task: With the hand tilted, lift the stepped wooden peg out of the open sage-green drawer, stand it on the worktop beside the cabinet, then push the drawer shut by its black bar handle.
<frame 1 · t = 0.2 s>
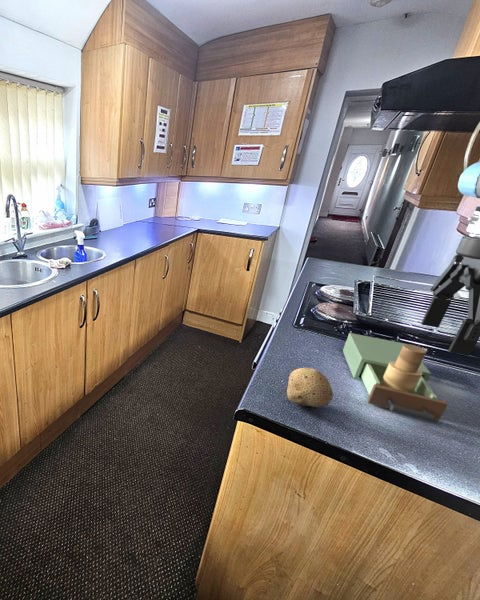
hand: (442, 338, 68), 21 cm above the worktop, tool pointing down, fingers open, 13 cm apart
stepped wooden peg: (394, 391, 82), point 2 cm above the worktop, touching drawer
drawer: (398, 390, 80), point 3 cm above the worktop, slide at 11.0 cm, touching stepped wooden peg
natural sponge: (303, 405, 80), on the worktop
cabinet: (376, 371, 94), on the worktop
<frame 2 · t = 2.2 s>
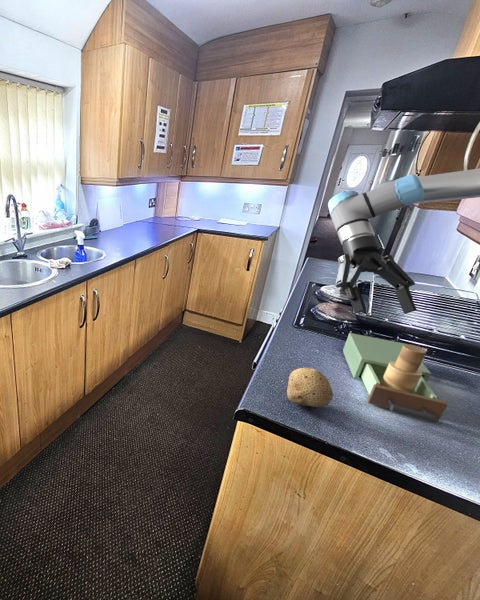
hand: (385, 311, 84), 20 cm above the worktop, tool tilted 45°, fingers open, 13 cm apart
nothing on the worktop moved.
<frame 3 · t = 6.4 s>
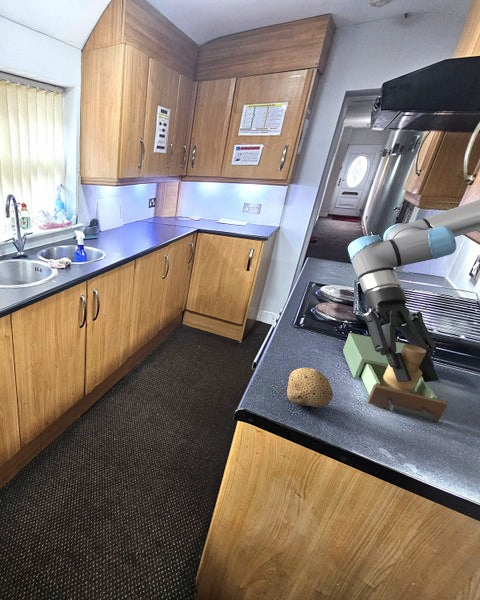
hand: (418, 381, 76), 8 cm above the worktop, tool tilted 45°, fingers closed on stepped wooden peg, 6 cm apart
stepped wooden peg: (394, 391, 82), point 2 cm above the worktop, touching drawer, gripper
everything else where it was.
when the fingers open (6 cm above the worktop, at t = 14.4 s): stepped wooden peg stays where it is, on the worktop.
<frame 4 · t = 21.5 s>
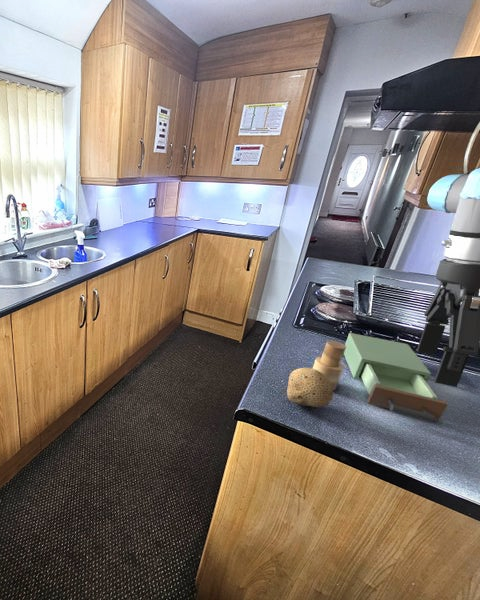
hand: (434, 367, 64), 18 cm above the worktop, tool pointing down, fingers open, 13 cm apart
stepped wooden peg: (321, 385, 87), on the worktop
drawer: (398, 390, 80), point 3 cm above the worktop, slide at 11.0 cm
everything else where it was.
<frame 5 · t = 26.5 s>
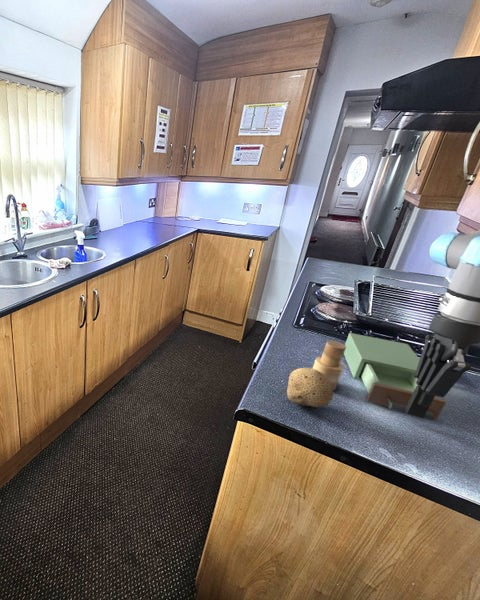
hand: (413, 413, 72), 4 cm above the worktop, tool pointing down, fingers closed
drawer: (397, 388, 81), point 3 cm above the worktop, slide at 10.2 cm, touching gripper
everything else where it was.
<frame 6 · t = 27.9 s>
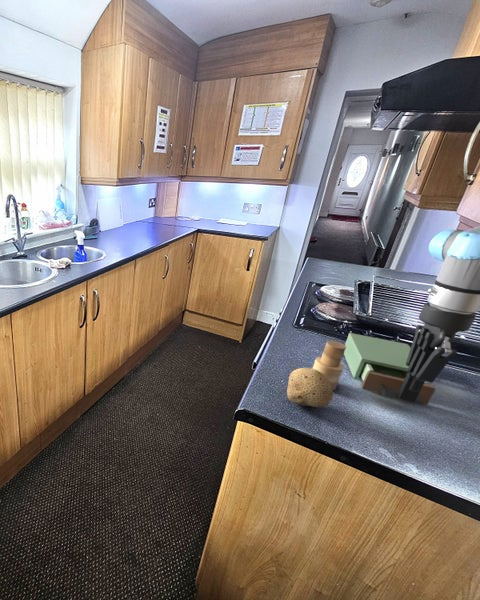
hand: (405, 399, 77), 4 cm above the worktop, tool pointing down, fingers closed
drawer: (390, 376, 86), point 3 cm above the worktop, slide at 4.6 cm, touching gripper
everything else where it was.
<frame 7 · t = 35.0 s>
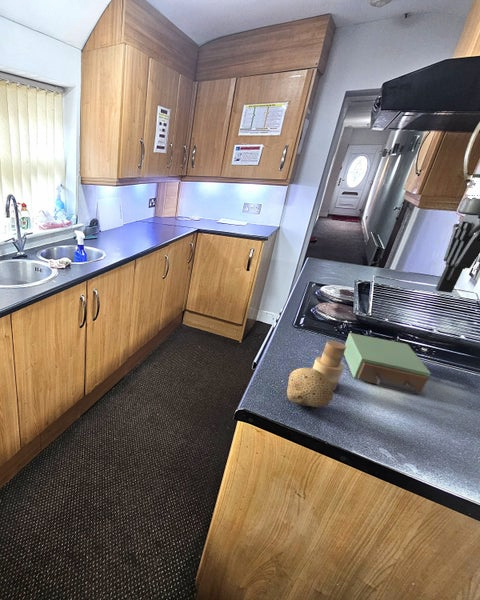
hand: (443, 290, 86), 24 cm above the worktop, tool pointing down, fingers closed
drawer: (385, 368, 89), point 3 cm above the worktop, slide at 0.0 cm, touching cabinet
everything else where it was.
at the end: stepped wooden peg inside the target area (0.0 cm from its centre), on the worktop; stepped wooden peg tilted 0°; drawer slide at 0.0 cm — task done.
